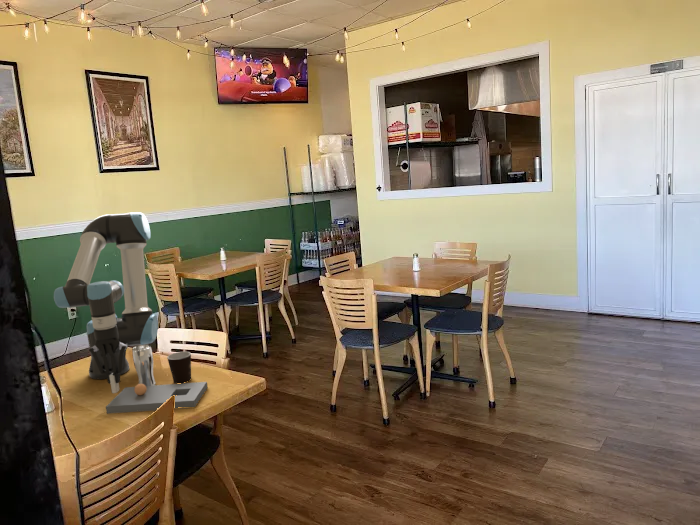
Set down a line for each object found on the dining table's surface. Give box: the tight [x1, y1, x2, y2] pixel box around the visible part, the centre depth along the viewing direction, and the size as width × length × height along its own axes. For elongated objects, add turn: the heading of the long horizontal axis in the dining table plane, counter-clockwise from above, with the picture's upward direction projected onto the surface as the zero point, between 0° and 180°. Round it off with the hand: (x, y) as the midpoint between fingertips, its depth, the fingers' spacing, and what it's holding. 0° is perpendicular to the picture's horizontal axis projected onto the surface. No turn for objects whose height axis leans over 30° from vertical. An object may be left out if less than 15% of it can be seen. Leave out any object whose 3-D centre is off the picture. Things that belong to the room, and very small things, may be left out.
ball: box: [134, 383, 147, 395], centre depth 191 cm, size 4×4×4 cm
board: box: [105, 381, 209, 414], centre depth 191 cm, size 30×16×2 cm, turn 89°
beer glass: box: [131, 344, 157, 386], centre depth 205 cm, size 7×7×15 cm
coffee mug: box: [166, 351, 192, 384], centre depth 209 cm, size 12×9×10 cm
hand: (115, 391), depth 191 cm, fingers closed
